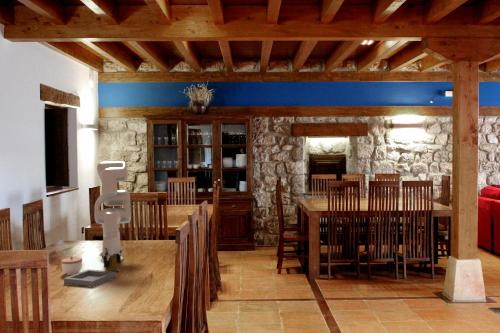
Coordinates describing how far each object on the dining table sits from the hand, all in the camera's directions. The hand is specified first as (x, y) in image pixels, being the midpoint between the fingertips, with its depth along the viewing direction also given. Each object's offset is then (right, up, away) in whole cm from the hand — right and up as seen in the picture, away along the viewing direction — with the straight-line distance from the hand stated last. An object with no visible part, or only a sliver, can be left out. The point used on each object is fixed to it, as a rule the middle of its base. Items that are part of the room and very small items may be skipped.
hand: (112, 265), depth 260 cm
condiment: (0, -4, 0) cm, 4 cm away
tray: (-7, -5, -17) cm, 18 cm away
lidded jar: (-22, -5, -1) cm, 22 cm away
